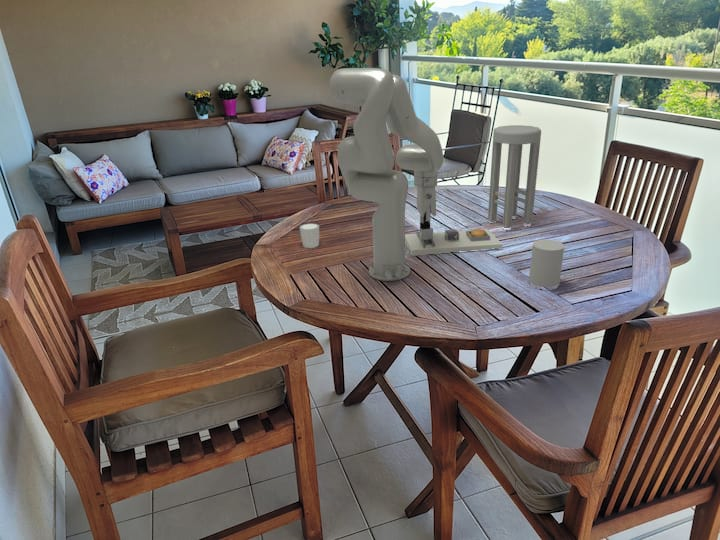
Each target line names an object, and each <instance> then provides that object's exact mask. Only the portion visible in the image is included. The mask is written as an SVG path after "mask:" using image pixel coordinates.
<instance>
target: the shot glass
mask: <svg viewBox="0 0 720 540" xmlns="http://www.w3.org/2000/svg"><path fill="white" fill-rule="evenodd" d="M299 232H300V237H301V243H302V247H303V248H305V249H314V248H317V247H318V246H319V245H320V225H319V224H317V223H304V224H302V225H301V224H300V226H299Z"/></svg>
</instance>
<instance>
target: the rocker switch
mask: <svg viewBox="0 0 720 540" xmlns="http://www.w3.org/2000/svg"><path fill="white" fill-rule="evenodd" d="M458 231H459V230H456V229H447V230H446V229H445V230H444V232H445V233H446V234H447V237H453V236H457V235H459V232H458Z"/></svg>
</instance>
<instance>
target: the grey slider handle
mask: <svg viewBox="0 0 720 540" xmlns="http://www.w3.org/2000/svg"><path fill="white" fill-rule="evenodd" d="M433 233H434V228H433V227H430V228H421V229H420V228H419V234H420V239H421V240H423V241H424V243H425V244H430V242H431V241H430V239H433Z"/></svg>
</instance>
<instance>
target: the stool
mask: <svg viewBox="0 0 720 540" xmlns="http://www.w3.org/2000/svg"><path fill="white" fill-rule="evenodd" d="M492 132H493V135H492V149H491V151H492V152H491V167H490V178H489V179H490V182H489V198H488V214H487V221H488V220H489V221H496V222H497V219H498V217H497V216H498V215H497V214H498V206H500V207H503V216H502V217H503V218H502V227H504V228H510V227H513V226H512V224H513V220H512V216H516V217H517V213H518V202H520V203H522V204H524V208H523V218H522V219H523V220H522V224H523V223H526V224H530V223H532V224H533V216H534V206H535V198H536V187H537V178H538V177H537V176H538V167H539V160H540V159H539V158H540V148H541V147H540V146H541V137H542V129H541V128H540V127H538V126H533V125H524V124H523V125H515V124H514V125H503V126H502V125H501V126H497V127H495V128H493V131H492ZM503 144H505V145H508V152H507V164H506V166H507V167H506V178H505V190H504V193H502V192H500V191H499V187H500V174H501V173H500V172H501V163H502V162H501V160H502V148H503V147H502V146H503ZM523 145H530V146H529V155H528V167H527V177H526V188H525V190H523V189H520V188H519V187H520V178H521V169H522V168H521V167H522V157H523V156H522V154H523V147H524V146H523ZM519 194H521V195H523V196H525V198H522V197H520V196H519ZM499 198H500V199H501V198H502V199H504V202H503V201H501V200H499Z"/></svg>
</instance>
